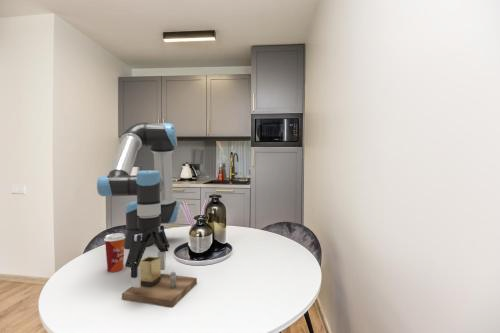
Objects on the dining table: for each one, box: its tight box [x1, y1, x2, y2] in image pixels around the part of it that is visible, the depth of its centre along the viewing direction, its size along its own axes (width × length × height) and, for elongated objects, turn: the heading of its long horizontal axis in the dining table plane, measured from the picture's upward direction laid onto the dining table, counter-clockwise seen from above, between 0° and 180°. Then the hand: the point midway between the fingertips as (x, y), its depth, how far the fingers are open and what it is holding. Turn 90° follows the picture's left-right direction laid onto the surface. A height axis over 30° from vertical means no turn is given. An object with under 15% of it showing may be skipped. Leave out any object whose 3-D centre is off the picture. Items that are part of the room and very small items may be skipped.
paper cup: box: [103, 232, 125, 273], centre depth 107 cm, size 8×8×14 cm
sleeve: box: [139, 255, 162, 287], centre depth 89 cm, size 5×5×8 cm
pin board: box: [121, 271, 198, 308], centre depth 88 cm, size 16×18×7 cm
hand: (149, 277), depth 90 cm, fingers open, 13 cm apart
